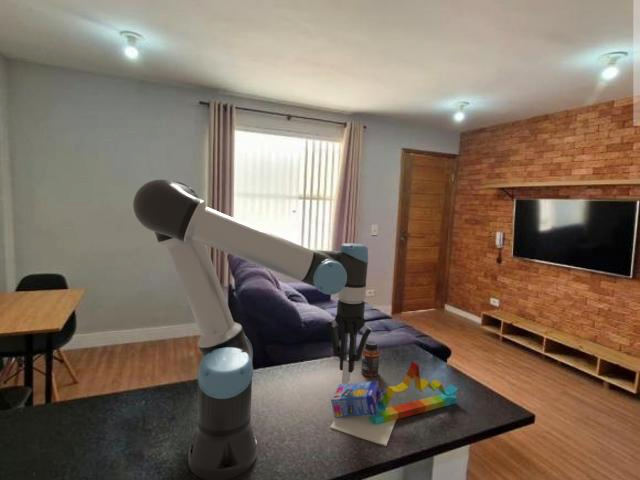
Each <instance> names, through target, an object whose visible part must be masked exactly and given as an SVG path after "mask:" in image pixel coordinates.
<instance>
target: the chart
mask: <svg viewBox="0 0 640 480" xmlns="http://www.w3.org/2000/svg"><path fill="white" fill-rule="evenodd" d="M413 380H414V388H416V389H417V390H418V391H420V392H421V393H422V392H423V391H424V390H425V389H426V388H427V387H428V388H430V389H431V390H432V391H434V392H435V391H436V390H437V389H438V392H440V393H441V394H437V395H433V396H430V397H425V398H422V399H418V400H414V401H409V402H405V403H401V404H397V405H396V404H395V405H393V406H389V407H388V405H389V404H390V401H391V399H393V396H394V394H396V393H397V394H398V393H399V394H400V393H403V392H405V391H406V390H408V389H409V388H410V386H411V384H412V381H413ZM458 390H459V388H458V387H456V386H455V385H453V384H450V385H449V386H448V387H446V389H444V387H443V383H441V382H440V381H438V380H437V379H433V380H432V381H431V382H430V381H429V380H426V379H425V378H424V377H422V378H421V375H420V367H419V365H418V364H416V363H415V362H414V361H411V363H410V365H409V367H408V370H407V372H406V374H405V377H404V378H403V381H402V382H400V383H399V384H397V385H394V386H393V385H392V386H391V385H390V386H387V388H386V389H385V393H384V395H383V396H382V397H381V401H380V403H379V406H378V408H377V411H378V413H377V415H370V416H369V419H370V420H371V421H372V422H373V423H374V424H375V425H377V424H381V423H385V422H388V421H392V420H396V421H397V420H399V419H403V418H407V417H410V416H414V415H418V414H422V413H425V412H429V411H432V410H436V409H441V408H443V407H444V408H445V407H448V406H451V405H456V404H457V400H458V397H457V396H456V395H454V394H456V392H458Z"/></svg>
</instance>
